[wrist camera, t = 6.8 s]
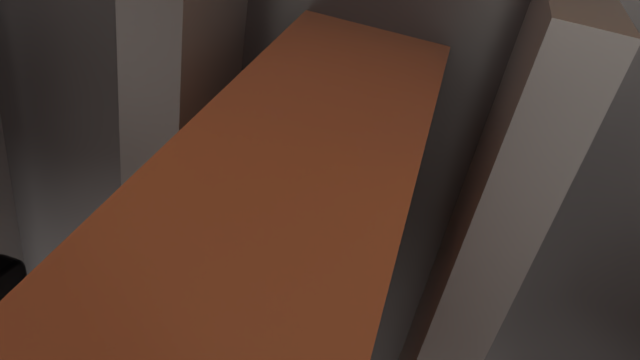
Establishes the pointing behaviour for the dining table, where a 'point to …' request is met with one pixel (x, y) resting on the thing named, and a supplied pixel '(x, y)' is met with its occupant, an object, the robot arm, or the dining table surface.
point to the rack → (435, 169)
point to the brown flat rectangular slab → (251, 215)
